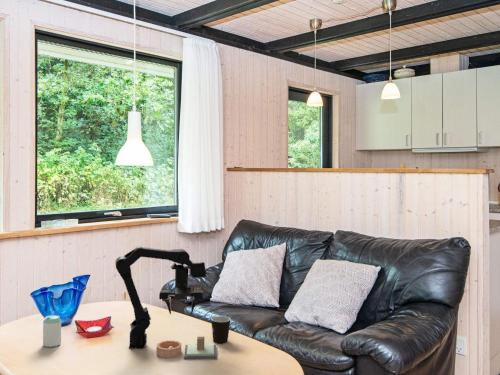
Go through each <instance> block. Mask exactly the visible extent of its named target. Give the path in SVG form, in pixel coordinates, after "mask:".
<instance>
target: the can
mask: <svg viewBox="0 0 500 375" xmlns="http://www.w3.org/2000/svg"><path fill="white" fill-rule="evenodd" d="M61 343H62V319H61V318H60V315H57V314H50V315H46V316H45V317H44V320H43V322H42V345H43V346H44V347H46V348H54V347H58V346H59V345H60V344H61Z"/></svg>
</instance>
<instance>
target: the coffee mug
mask: <svg viewBox="0 0 500 375" xmlns="http://www.w3.org/2000/svg"><path fill="white" fill-rule="evenodd" d="M210 320H211V332H212V342H213V344H214V343H215V344H216V345H224V344H227V343H228V341H229V333H230V326H231V318H230V317H229V316H225V315H219V316H218V315H217V316H213V317H211V318H210Z"/></svg>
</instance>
